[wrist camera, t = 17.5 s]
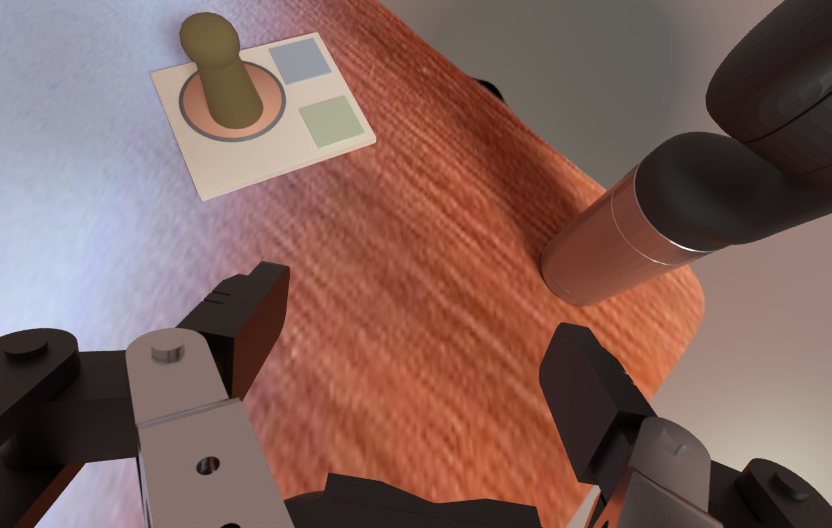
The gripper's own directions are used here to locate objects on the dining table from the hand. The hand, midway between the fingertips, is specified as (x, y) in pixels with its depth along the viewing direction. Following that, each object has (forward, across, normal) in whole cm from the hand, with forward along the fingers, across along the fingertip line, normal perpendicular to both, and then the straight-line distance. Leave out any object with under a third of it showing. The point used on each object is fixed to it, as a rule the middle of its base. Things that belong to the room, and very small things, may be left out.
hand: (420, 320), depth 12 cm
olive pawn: (+41, +22, +1) cm, 46 cm away
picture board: (+42, +19, +1) cm, 47 cm away
